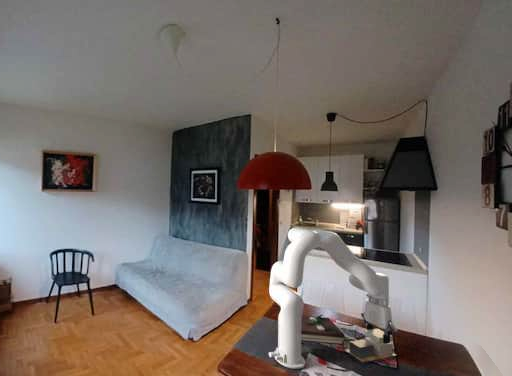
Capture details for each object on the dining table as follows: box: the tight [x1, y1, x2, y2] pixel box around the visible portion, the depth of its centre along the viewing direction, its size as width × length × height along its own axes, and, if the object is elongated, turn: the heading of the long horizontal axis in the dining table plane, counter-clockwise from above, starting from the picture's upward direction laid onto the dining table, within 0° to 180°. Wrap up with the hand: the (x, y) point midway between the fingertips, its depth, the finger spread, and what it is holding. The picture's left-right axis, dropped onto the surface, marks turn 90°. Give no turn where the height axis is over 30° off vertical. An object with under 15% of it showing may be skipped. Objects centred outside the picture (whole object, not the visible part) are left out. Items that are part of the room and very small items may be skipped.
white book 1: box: [364, 327, 393, 343], centre depth 122 cm, size 8×7×2 cm
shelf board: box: [344, 348, 397, 363], centre depth 121 cm, size 20×9×2 cm, turn 104°
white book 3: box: [374, 348, 394, 356], centre depth 122 cm, size 8×7×2 cm
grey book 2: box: [349, 346, 374, 358], centre depth 120 cm, size 8×5×2 cm, turn 104°
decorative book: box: [301, 314, 345, 346], centre depth 137 cm, size 19×8×30 cm
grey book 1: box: [349, 338, 374, 353], centre depth 120 cm, size 8×5×2 cm, turn 104°
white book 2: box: [364, 336, 393, 351], centre depth 122 cm, size 8×7×2 cm
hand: (378, 338), depth 122 cm, fingers closed on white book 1, 6 cm apart
